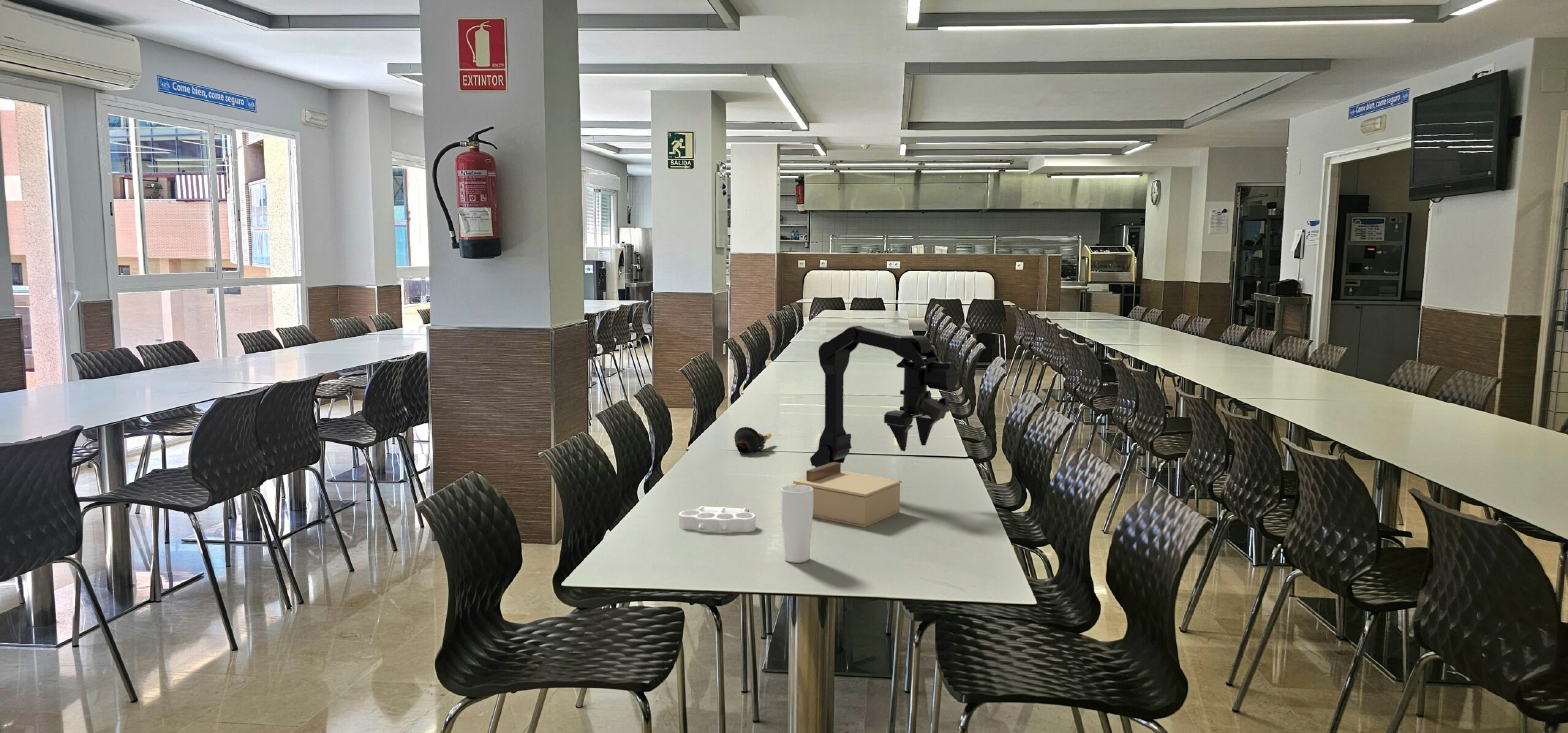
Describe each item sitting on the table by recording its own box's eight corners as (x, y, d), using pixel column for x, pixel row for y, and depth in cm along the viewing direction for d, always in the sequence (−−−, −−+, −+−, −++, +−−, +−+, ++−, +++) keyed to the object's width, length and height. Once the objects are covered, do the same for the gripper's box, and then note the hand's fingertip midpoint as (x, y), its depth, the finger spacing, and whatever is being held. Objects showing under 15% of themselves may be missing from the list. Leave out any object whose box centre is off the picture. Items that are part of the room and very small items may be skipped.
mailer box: (794, 512, 226) (794, 484, 225) (831, 499, 239) (831, 472, 238) (864, 527, 214) (865, 497, 213) (899, 512, 227) (900, 484, 226)
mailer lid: (793, 483, 225) (793, 470, 225) (831, 471, 238) (831, 459, 238) (865, 496, 213) (865, 483, 212) (901, 482, 226) (902, 470, 226)
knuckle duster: (762, 519, 222) (750, 538, 207) (689, 516, 224) (672, 534, 210) (762, 506, 221) (750, 523, 207) (688, 502, 224) (672, 519, 210)
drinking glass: (779, 554, 194) (779, 484, 193) (811, 554, 195) (811, 484, 193) (781, 565, 188) (782, 493, 186) (815, 564, 188) (815, 492, 186)
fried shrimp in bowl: (723, 440, 291) (741, 413, 306) (740, 469, 294) (756, 441, 309) (748, 432, 287) (764, 405, 302) (765, 461, 290) (780, 433, 305)
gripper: (922, 394, 219) (920, 459, 221) (963, 386, 233) (960, 447, 235) (883, 389, 226) (881, 452, 228) (925, 381, 240) (923, 440, 242)
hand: (913, 448), depth 233 cm, fingers open, 9 cm apart
